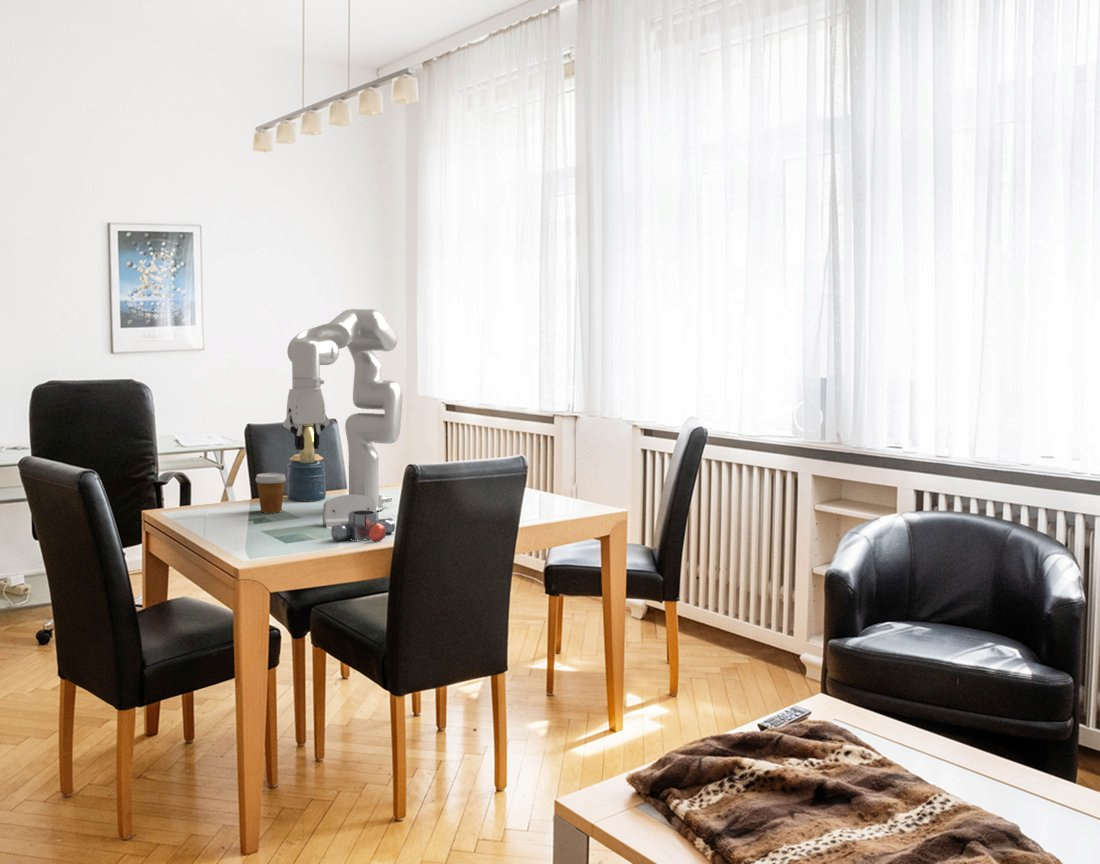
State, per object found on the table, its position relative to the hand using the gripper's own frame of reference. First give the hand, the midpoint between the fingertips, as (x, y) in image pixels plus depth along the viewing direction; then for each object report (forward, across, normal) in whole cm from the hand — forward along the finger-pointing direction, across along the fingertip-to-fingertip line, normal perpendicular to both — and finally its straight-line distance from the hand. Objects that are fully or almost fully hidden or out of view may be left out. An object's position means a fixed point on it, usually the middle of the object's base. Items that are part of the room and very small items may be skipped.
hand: (307, 448), depth 278 cm
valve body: (+25, -12, +13) cm, 30 cm away
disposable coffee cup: (+25, -7, -40) cm, 48 cm away
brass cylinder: (+4, 0, 0) cm, 4 cm away
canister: (+26, -27, -55) cm, 67 cm away
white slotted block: (+26, -18, -8) cm, 32 cm away
